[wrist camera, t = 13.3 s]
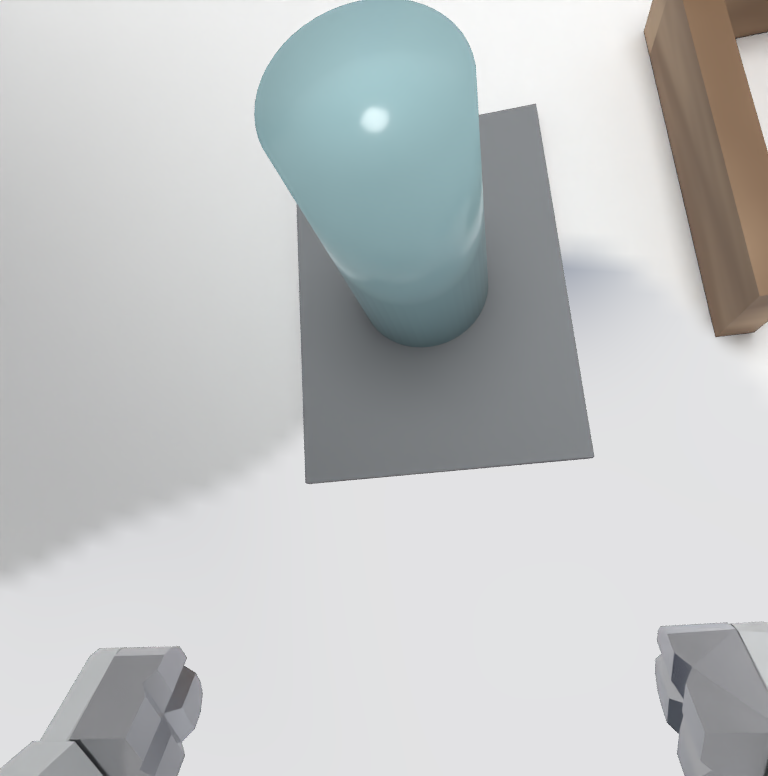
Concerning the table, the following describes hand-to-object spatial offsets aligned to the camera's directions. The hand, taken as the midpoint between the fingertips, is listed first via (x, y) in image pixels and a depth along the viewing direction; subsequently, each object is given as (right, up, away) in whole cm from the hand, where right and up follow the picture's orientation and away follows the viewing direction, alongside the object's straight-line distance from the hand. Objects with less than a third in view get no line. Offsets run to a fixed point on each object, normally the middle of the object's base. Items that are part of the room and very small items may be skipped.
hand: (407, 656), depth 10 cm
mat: (+1, +8, +12) cm, 15 cm away
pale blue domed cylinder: (+1, +10, +12) cm, 15 cm away
